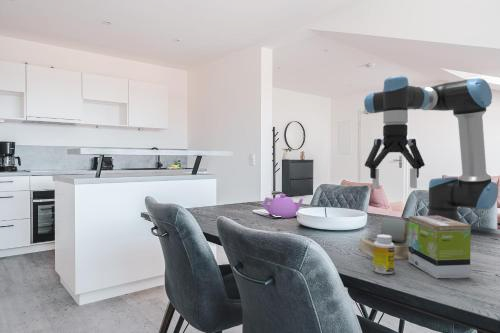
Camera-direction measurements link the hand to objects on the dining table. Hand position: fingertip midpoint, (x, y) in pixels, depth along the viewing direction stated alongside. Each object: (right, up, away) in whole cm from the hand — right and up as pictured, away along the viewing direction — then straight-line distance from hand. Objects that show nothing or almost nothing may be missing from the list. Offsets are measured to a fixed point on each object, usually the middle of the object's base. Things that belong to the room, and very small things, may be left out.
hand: (394, 188), depth 121 cm
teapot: (-30, -20, +77) cm, 85 cm away
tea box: (+6, -23, -17) cm, 29 cm away
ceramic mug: (0, -18, +1) cm, 18 cm away
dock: (0, -22, +1) cm, 22 cm away
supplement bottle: (-10, -23, -18) cm, 31 cm away
